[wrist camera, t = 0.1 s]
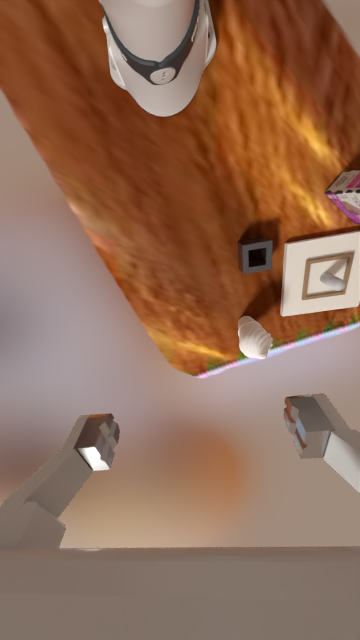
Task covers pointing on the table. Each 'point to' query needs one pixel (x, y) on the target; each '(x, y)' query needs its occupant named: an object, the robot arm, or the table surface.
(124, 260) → the table surface
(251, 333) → the soft serve ice cream cone
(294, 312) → the post board
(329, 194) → the candy bar box
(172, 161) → the table surface
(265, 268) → the grey square tube
